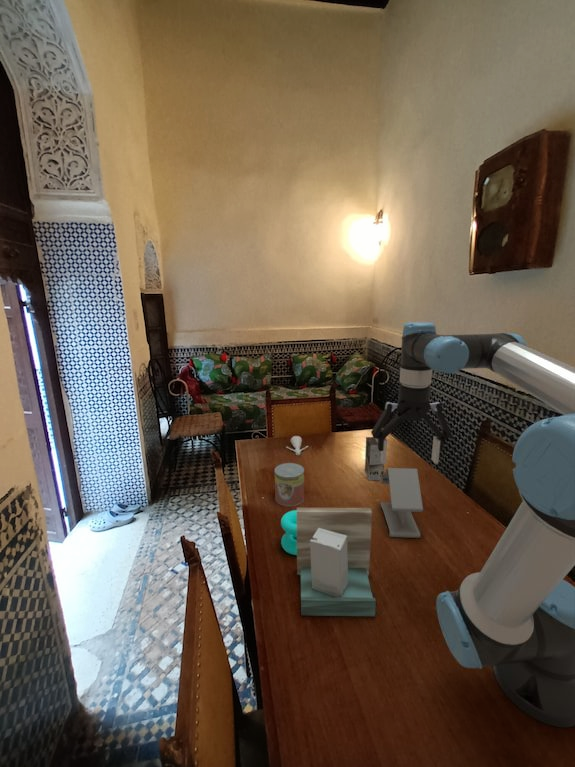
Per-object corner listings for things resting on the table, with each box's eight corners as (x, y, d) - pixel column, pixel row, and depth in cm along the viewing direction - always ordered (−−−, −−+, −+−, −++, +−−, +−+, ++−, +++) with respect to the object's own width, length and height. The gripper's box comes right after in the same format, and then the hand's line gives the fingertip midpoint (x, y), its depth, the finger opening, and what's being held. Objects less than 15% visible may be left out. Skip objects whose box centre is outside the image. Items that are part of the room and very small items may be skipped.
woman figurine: (306, 433, 190) (310, 450, 173) (306, 441, 192) (310, 458, 175) (284, 434, 190) (286, 450, 173) (285, 441, 191) (286, 459, 174)
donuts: (274, 520, 108) (292, 504, 116) (274, 548, 111) (292, 531, 119) (302, 532, 103) (319, 514, 111) (302, 561, 105) (319, 542, 113)
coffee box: (383, 480, 150) (385, 445, 146) (368, 480, 150) (370, 445, 146) (378, 470, 159) (380, 436, 155) (364, 470, 159) (365, 436, 155)
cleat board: (379, 616, 87) (383, 545, 82) (297, 615, 88) (296, 545, 83) (367, 570, 102) (370, 508, 97) (297, 569, 102) (296, 507, 97)
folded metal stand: (420, 539, 114) (425, 482, 109) (390, 538, 115) (393, 482, 110) (406, 506, 132) (409, 456, 127) (380, 505, 133) (382, 455, 128)
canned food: (270, 503, 135) (270, 474, 132) (280, 488, 145) (279, 461, 142) (299, 508, 131) (299, 479, 128) (307, 492, 142) (307, 465, 139)
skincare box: (348, 584, 94) (349, 535, 90) (340, 601, 88) (341, 549, 85) (318, 573, 97) (319, 525, 94) (309, 589, 92) (309, 539, 89)
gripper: (458, 380, 93) (450, 455, 99) (362, 381, 94) (359, 455, 99) (472, 387, 86) (462, 468, 91) (367, 388, 87) (364, 468, 92)
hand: (408, 461), depth 95 cm, fingers open, 13 cm apart
